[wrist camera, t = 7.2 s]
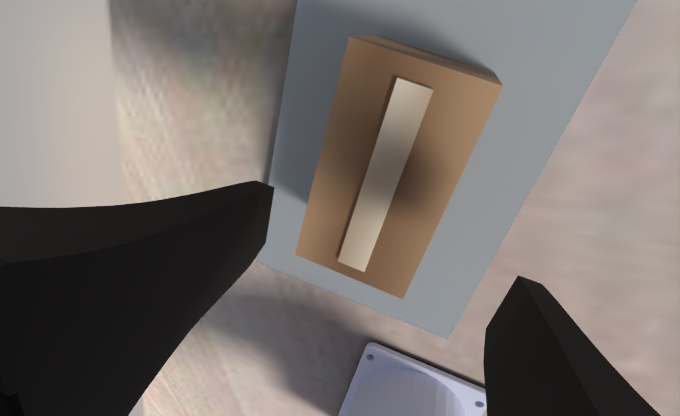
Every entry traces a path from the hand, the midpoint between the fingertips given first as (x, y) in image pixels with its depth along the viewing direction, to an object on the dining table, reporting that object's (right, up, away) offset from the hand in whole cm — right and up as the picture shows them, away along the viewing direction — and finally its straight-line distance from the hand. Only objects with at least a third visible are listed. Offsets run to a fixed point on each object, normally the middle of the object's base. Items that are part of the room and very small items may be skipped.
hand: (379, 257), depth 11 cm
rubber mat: (+2, +4, +7) cm, 8 cm away
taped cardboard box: (+2, +4, +6) cm, 8 cm away
